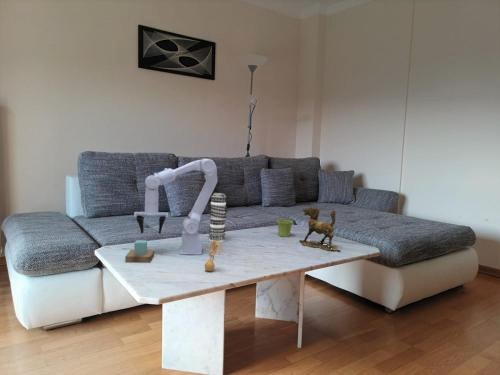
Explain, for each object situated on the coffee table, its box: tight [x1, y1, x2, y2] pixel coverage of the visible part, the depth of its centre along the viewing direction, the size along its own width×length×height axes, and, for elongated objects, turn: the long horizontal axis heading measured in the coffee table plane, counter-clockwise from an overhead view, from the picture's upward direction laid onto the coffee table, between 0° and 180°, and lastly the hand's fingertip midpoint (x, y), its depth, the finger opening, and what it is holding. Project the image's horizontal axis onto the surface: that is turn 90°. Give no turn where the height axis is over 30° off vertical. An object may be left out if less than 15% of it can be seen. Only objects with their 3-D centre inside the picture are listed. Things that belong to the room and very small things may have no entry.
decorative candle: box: [208, 192, 228, 243], centre depth 190 cm, size 9×9×25 cm
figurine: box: [299, 206, 341, 253], centre depth 187 cm, size 13×25×20 cm, turn 41°
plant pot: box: [276, 219, 294, 238], centre depth 208 cm, size 9×9×9 cm
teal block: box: [134, 239, 148, 255], centre depth 152 cm, size 4×4×5 cm
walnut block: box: [124, 249, 155, 264], centre depth 153 cm, size 10×10×3 cm
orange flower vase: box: [204, 241, 222, 272], centre depth 142 cm, size 8×6×12 cm
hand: (151, 233), depth 160 cm, fingers open, 7 cm apart
